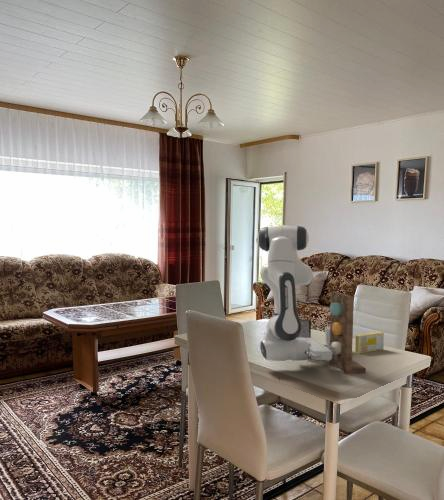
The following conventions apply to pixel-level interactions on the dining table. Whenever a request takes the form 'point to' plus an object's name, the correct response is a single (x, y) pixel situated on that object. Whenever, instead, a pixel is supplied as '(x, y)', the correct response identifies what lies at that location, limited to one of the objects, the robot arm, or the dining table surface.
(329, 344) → the white cup
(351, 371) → the button panel
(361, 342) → the candy box
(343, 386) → the dining table surface
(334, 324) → the orange button
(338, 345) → the cream button
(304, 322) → the coffee box
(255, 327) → the dining table surface
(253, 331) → the dining table surface
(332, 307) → the teal button
